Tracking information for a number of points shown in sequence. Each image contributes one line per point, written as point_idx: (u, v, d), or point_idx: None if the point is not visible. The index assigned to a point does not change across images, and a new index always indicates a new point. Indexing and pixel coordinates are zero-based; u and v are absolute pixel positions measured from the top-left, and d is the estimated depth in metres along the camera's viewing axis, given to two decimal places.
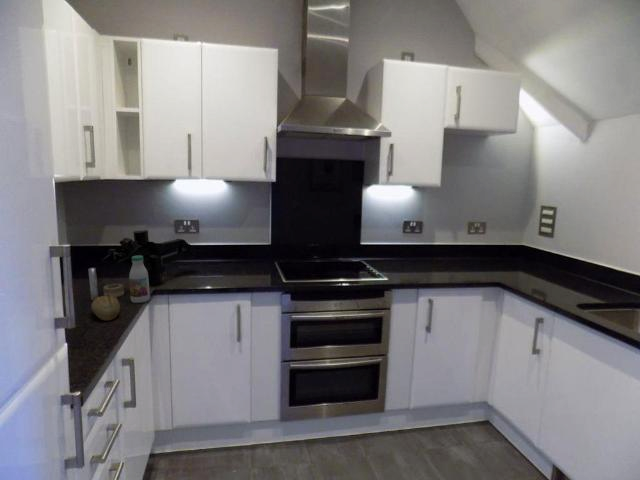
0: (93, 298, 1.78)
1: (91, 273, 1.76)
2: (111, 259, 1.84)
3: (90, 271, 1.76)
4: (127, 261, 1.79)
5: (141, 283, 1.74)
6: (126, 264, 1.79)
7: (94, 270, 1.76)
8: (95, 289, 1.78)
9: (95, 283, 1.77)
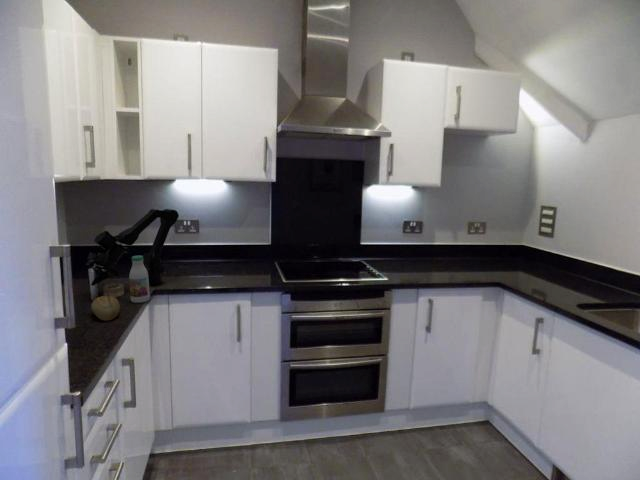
0: (93, 298, 1.78)
1: (91, 273, 1.76)
2: (97, 274, 1.81)
3: (90, 271, 1.76)
4: (100, 276, 1.78)
5: (141, 283, 1.74)
6: (101, 279, 1.78)
7: (94, 270, 1.76)
8: (95, 289, 1.78)
9: None
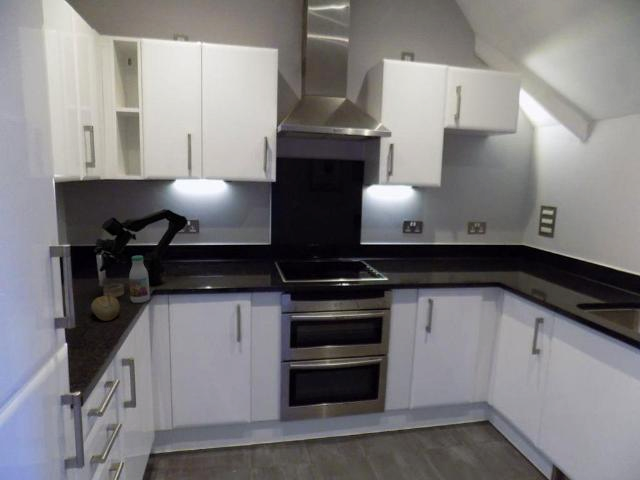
0: (101, 284, 1.80)
1: (99, 259, 1.77)
2: (104, 260, 1.83)
3: (98, 257, 1.77)
4: (108, 262, 1.79)
5: (141, 283, 1.74)
6: (109, 265, 1.80)
7: (102, 256, 1.78)
8: (103, 275, 1.80)
9: None
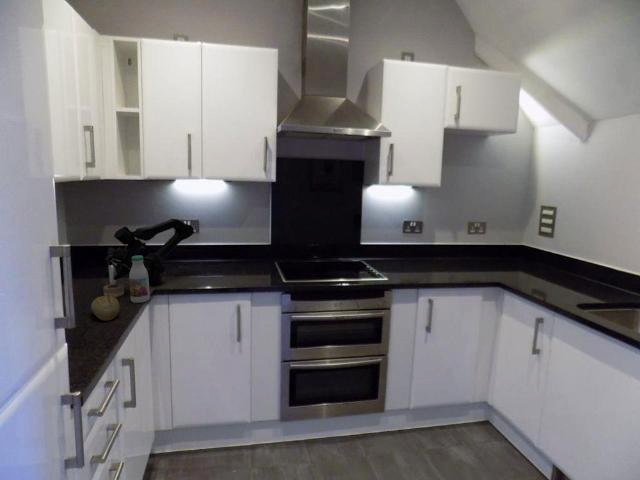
0: None
1: (111, 269, 1.82)
2: None
3: (110, 267, 1.82)
4: (122, 271, 1.82)
5: (141, 282, 1.74)
6: (123, 274, 1.83)
7: (114, 267, 1.83)
8: (115, 285, 1.84)
9: None
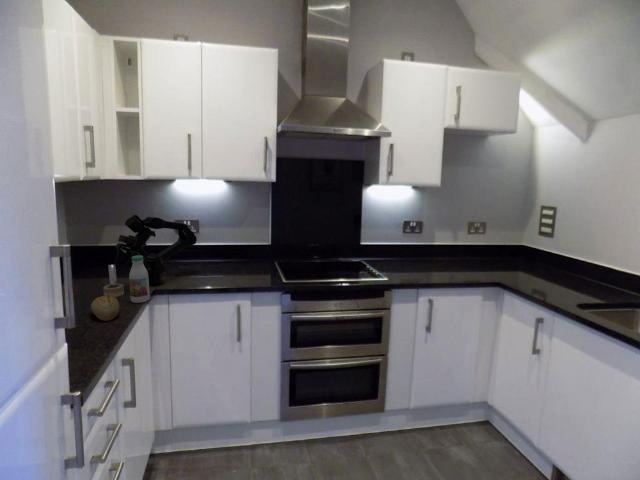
0: None
1: (111, 269, 1.82)
2: (122, 255, 1.92)
3: (110, 267, 1.82)
4: None
5: (141, 283, 1.74)
6: None
7: (114, 266, 1.83)
8: (115, 285, 1.84)
9: (115, 279, 1.84)
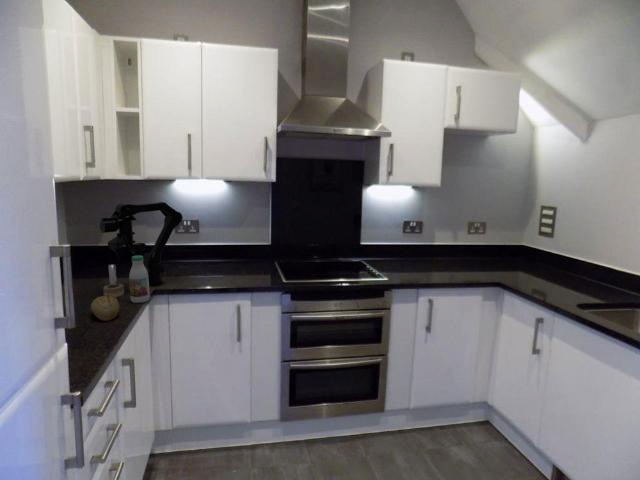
0: None
1: (111, 269, 1.82)
2: (120, 250, 1.93)
3: (110, 267, 1.82)
4: (136, 254, 1.88)
5: (141, 283, 1.74)
6: None
7: (114, 266, 1.83)
8: (115, 285, 1.84)
9: (115, 279, 1.84)
